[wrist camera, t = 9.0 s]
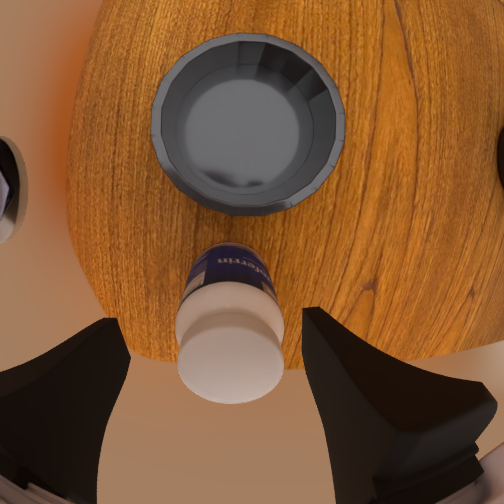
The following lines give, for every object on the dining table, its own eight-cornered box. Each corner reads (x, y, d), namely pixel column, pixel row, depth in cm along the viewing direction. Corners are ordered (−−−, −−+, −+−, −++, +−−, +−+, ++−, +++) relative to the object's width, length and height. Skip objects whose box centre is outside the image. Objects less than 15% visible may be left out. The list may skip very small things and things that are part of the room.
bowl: (226, 231, 19) (226, 253, 15) (140, 115, 16) (116, 105, 12) (345, 151, 18) (376, 151, 14) (264, 36, 15) (274, 7, 10)
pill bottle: (282, 265, 20) (323, 352, 11) (241, 321, 22) (250, 422, 12) (215, 224, 19) (203, 293, 10) (176, 287, 20) (146, 383, 11)
